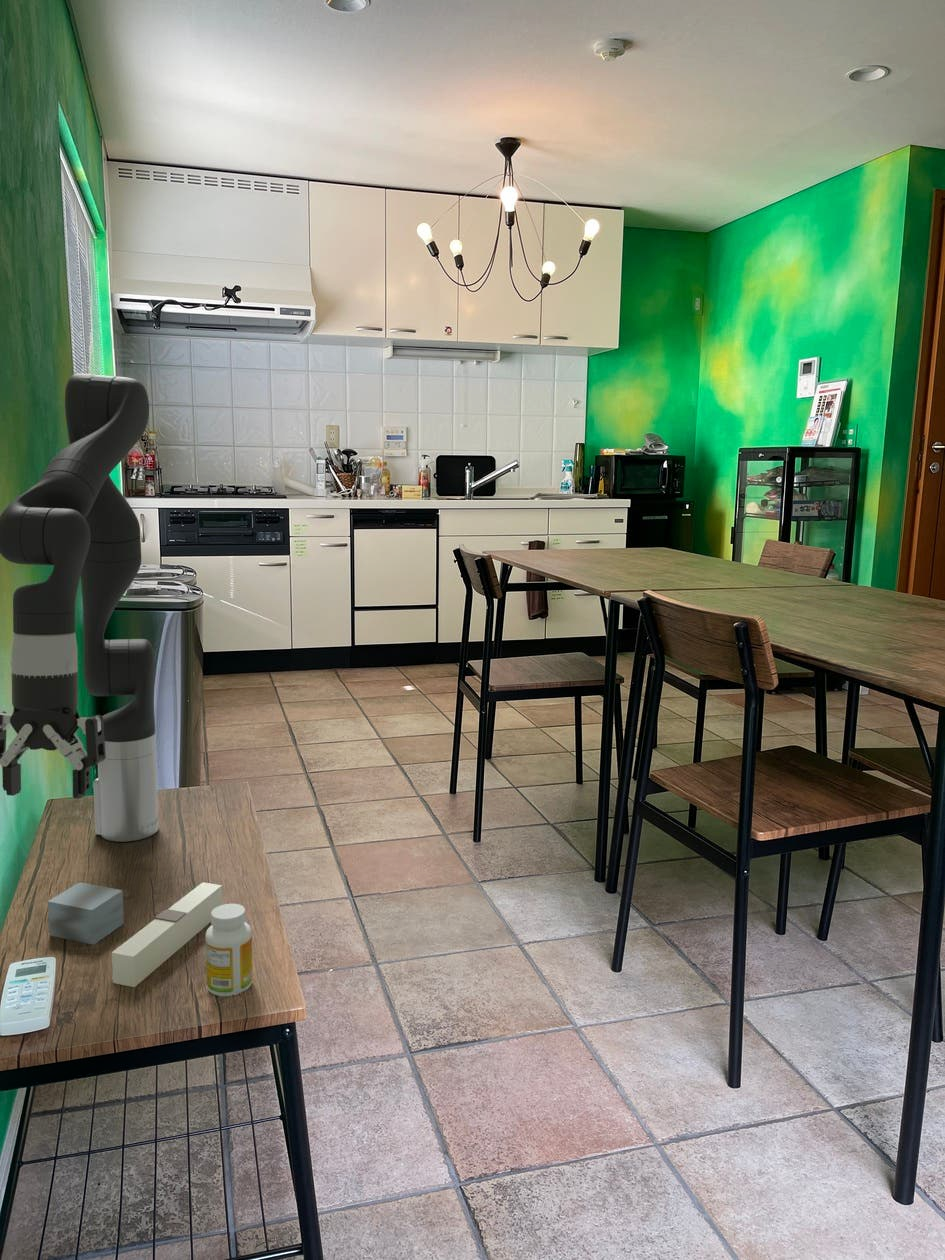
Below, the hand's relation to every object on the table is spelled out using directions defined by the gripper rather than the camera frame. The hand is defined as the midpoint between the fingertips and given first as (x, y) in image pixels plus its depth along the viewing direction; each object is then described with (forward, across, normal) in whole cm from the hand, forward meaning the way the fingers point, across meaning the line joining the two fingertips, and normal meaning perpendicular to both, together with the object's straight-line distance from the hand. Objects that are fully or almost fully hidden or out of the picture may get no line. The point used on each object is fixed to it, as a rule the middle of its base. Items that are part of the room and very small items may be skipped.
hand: (46, 795), depth 116 cm
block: (+20, -2, -6) cm, 21 cm away
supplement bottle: (+21, -26, +6) cm, 33 cm away
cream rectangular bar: (+20, -15, -3) cm, 25 cm away
